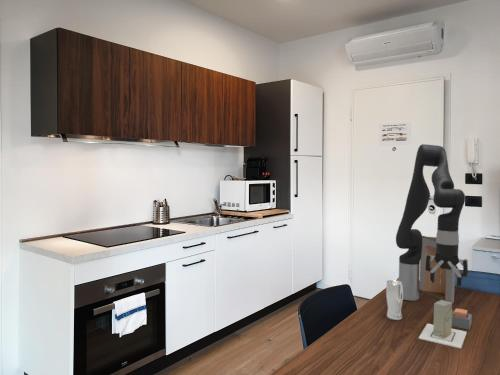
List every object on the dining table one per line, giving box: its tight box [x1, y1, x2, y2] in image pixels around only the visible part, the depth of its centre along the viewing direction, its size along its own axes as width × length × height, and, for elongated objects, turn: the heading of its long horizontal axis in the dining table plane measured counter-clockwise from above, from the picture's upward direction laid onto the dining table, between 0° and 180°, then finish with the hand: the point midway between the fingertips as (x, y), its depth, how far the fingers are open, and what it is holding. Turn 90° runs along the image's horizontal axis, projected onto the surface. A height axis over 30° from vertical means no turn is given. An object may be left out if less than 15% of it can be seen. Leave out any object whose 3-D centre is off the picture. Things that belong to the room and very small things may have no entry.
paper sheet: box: [418, 323, 467, 350], centre depth 150 cm, size 14×16×1 cm
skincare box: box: [433, 299, 453, 338], centre depth 150 cm, size 6×4×12 cm
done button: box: [453, 307, 468, 318], centre depth 160 cm, size 4×4×2 cm
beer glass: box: [385, 279, 404, 321], centre depth 168 cm, size 7×7×15 cm
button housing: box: [452, 310, 473, 331], centre depth 160 cm, size 7×7×4 cm
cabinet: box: [419, 235, 456, 305], centre depth 195 cm, size 21×10×28 cm, turn 17°
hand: (445, 284), depth 151 cm, fingers open, 8 cm apart
